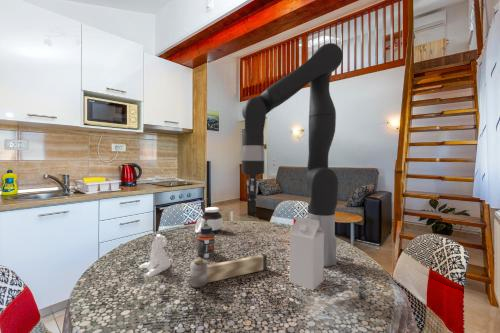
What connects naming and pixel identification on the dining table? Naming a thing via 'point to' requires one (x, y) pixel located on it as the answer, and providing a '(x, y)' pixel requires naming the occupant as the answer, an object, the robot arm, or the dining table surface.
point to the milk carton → (306, 253)
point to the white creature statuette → (157, 257)
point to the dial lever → (224, 269)
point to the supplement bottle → (206, 242)
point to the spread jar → (210, 220)
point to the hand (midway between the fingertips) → (252, 211)
